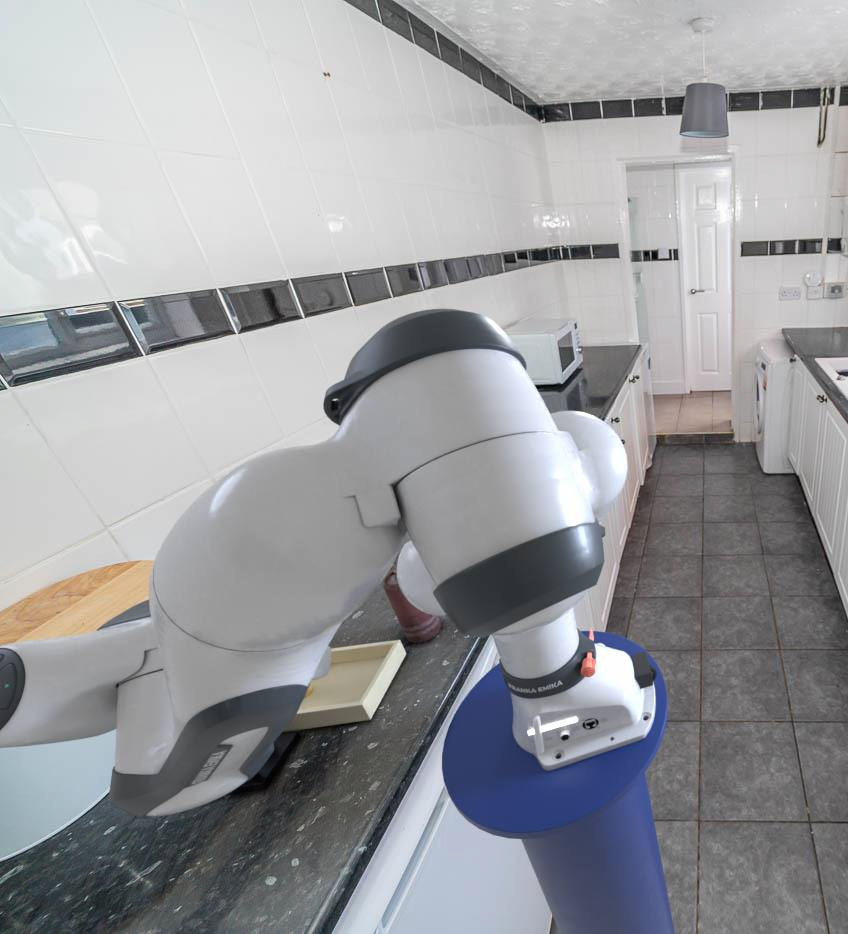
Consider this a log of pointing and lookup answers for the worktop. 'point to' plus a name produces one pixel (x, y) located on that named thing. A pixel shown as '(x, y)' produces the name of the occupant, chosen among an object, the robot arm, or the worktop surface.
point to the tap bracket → (271, 763)
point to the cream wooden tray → (350, 685)
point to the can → (410, 613)
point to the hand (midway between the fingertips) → (279, 668)
